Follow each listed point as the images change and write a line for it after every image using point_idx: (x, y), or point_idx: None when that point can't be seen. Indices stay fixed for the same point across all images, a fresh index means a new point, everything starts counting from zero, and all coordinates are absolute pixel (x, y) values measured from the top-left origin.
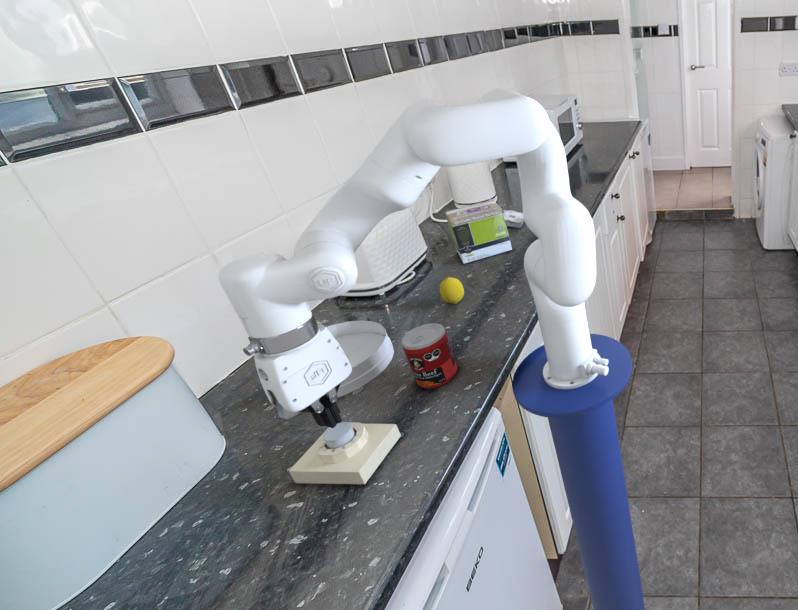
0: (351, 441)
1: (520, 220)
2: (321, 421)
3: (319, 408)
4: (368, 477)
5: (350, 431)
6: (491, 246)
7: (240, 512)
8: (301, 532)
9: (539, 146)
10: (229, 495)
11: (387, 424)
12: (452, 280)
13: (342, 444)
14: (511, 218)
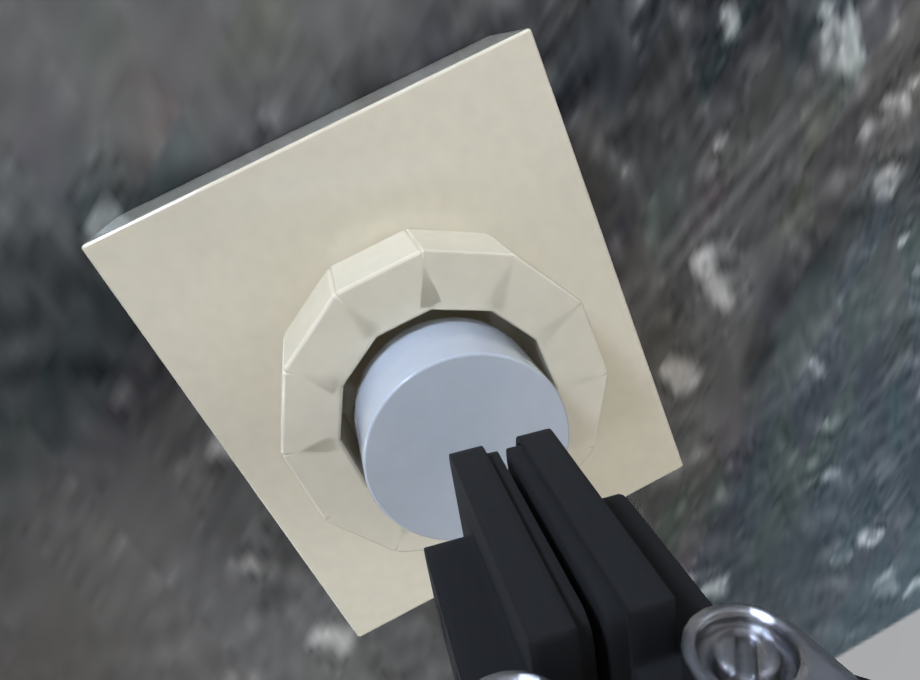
0: (433, 299)
1: None
2: (651, 531)
3: (746, 668)
4: (456, 53)
5: (406, 365)
6: None
7: (803, 455)
8: (811, 68)
9: None
10: (761, 581)
11: (132, 306)
12: None
13: (486, 328)
14: None
